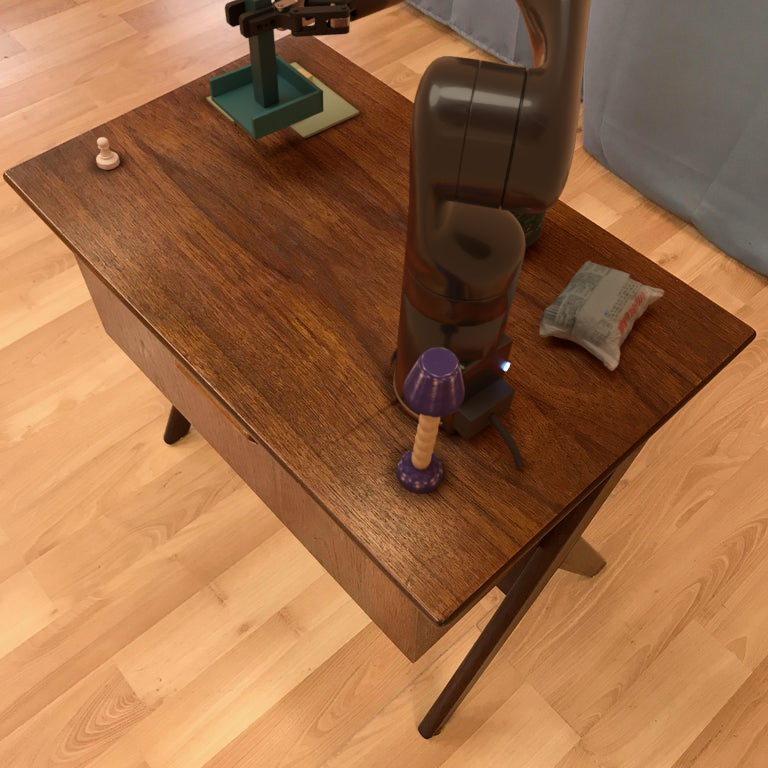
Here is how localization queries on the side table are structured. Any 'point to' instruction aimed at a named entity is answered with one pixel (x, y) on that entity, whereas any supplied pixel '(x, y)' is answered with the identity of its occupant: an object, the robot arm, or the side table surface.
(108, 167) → the chess pawn
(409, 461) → the toy lamp
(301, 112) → the tray with upright handle
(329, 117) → the mat
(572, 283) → the packaged food
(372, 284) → the side table surface
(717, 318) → the side table surface
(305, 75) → the block
